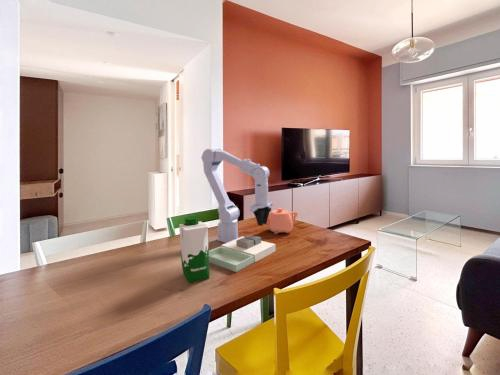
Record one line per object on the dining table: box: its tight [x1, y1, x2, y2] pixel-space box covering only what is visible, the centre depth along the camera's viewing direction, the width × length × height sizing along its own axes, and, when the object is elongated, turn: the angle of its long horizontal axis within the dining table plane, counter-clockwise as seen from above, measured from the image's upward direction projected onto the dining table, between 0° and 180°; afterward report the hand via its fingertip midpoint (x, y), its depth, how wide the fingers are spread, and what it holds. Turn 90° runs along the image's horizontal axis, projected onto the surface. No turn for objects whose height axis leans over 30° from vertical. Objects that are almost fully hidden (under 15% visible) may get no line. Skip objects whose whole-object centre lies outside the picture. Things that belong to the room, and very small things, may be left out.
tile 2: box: [243, 234, 262, 245], centre depth 115 cm, size 6×4×2 cm, turn 51°
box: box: [208, 246, 255, 273], centre depth 103 cm, size 18×10×3 cm, turn 51°
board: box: [221, 236, 277, 263], centre depth 113 cm, size 18×14×3 cm
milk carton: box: [179, 216, 210, 284], centre depth 90 cm, size 9×9×20 cm
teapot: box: [265, 207, 299, 235], centre depth 139 cm, size 13×20×12 cm, turn 97°
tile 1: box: [236, 238, 254, 249], centre depth 111 cm, size 6×4×2 cm, turn 51°
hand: (262, 224), depth 119 cm, fingers open, 2 cm apart
